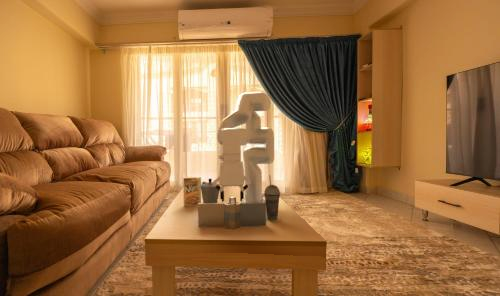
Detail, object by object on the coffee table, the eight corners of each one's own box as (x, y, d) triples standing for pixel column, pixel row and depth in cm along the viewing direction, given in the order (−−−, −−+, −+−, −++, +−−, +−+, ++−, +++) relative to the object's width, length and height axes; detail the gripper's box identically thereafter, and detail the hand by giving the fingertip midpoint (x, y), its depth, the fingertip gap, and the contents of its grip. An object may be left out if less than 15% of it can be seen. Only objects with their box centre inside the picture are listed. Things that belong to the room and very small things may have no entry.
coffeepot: (226, 218, 123) (225, 179, 122) (207, 222, 118) (206, 181, 117) (211, 211, 136) (211, 175, 135) (193, 214, 131) (193, 177, 130)
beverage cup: (276, 222, 117) (276, 176, 116) (261, 220, 120) (261, 175, 119) (282, 218, 123) (282, 174, 122) (268, 216, 127) (268, 173, 126)
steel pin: (232, 224, 115) (232, 196, 114) (237, 225, 113) (237, 197, 112) (227, 226, 112) (227, 197, 112) (232, 227, 110) (232, 198, 110)
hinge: (197, 229, 109) (196, 205, 108) (199, 224, 115) (199, 201, 115) (266, 228, 110) (266, 204, 109) (265, 223, 116) (265, 201, 116)
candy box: (183, 206, 146) (183, 178, 146) (185, 204, 150) (185, 176, 150) (199, 206, 146) (199, 178, 145) (201, 204, 150) (201, 177, 149)
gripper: (209, 159, 107) (210, 203, 108) (253, 158, 108) (253, 202, 109) (211, 157, 115) (212, 199, 116) (252, 157, 115) (252, 198, 116)
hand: (232, 200), depth 112 cm, fingers open, 7 cm apart
